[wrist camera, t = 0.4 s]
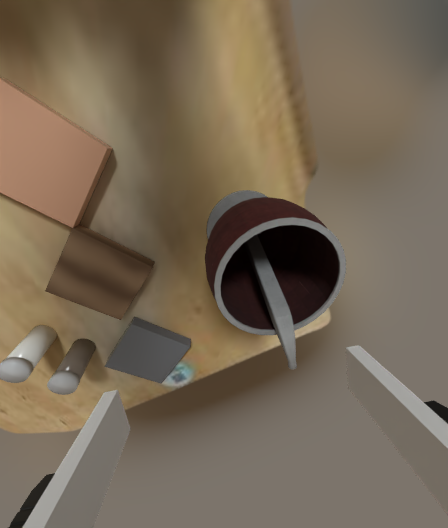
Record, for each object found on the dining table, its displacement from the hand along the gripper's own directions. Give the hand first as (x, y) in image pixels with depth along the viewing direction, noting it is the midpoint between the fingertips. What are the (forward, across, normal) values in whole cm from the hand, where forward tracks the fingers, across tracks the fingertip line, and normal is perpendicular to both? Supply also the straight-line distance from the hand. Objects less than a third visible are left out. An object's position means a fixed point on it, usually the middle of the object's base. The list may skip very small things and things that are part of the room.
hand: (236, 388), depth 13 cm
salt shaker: (+28, -33, -6) cm, 44 cm away
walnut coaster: (+26, -19, +4) cm, 32 cm away
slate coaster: (+30, -17, -14) cm, 37 cm away
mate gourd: (+26, +5, +6) cm, 27 cm away
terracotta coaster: (+21, -19, +20) cm, 35 cm away
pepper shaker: (+29, -28, -11) cm, 42 cm away
